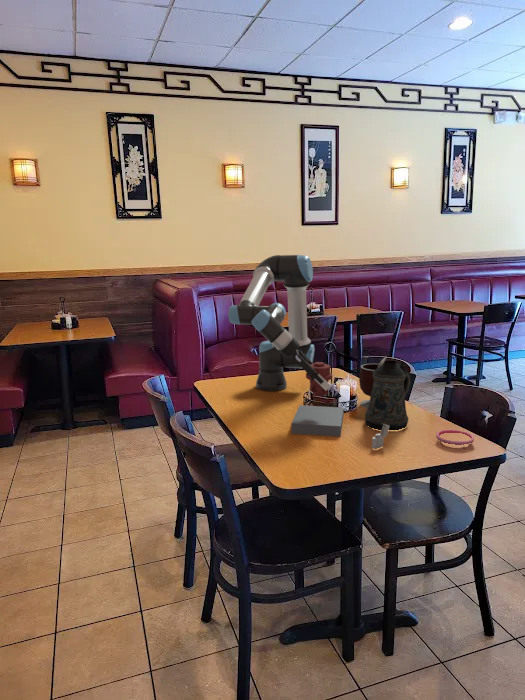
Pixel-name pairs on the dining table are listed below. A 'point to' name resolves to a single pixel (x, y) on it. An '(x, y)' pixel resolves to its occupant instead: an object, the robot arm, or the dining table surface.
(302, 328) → the robot arm
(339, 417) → the plate
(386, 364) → the beer stein
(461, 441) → the pink torus ring
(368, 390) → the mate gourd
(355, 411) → the dining table surface
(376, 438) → the lighter
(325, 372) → the mechanical component
